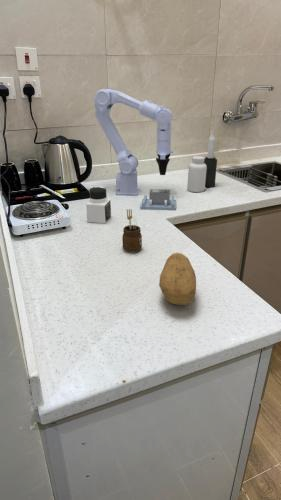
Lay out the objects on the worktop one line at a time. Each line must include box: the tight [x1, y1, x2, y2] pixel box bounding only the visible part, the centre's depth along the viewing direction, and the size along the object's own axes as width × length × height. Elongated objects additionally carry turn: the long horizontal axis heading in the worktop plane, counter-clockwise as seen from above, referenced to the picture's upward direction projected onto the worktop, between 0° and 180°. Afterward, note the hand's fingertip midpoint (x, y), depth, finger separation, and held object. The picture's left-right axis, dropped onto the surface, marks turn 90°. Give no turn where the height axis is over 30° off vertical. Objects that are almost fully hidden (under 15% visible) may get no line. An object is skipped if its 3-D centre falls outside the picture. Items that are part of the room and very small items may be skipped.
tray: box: [139, 194, 177, 211], centre depth 144 cm, size 14×10×4 cm
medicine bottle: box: [85, 186, 112, 224], centre depth 129 cm, size 7×7×12 cm
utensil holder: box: [121, 208, 143, 254], centre depth 108 cm, size 6×6×12 cm
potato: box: [158, 252, 197, 306], centre depth 85 cm, size 9×16×9 cm, turn 173°
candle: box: [204, 130, 218, 189], centre depth 163 cm, size 5×5×25 cm
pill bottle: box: [186, 155, 207, 193], centre depth 160 cm, size 8×8×15 cm
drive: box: [148, 188, 171, 205], centre depth 144 cm, size 8×4×5 cm, turn 84°
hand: (163, 172), depth 153 cm, fingers open, 7 cm apart
